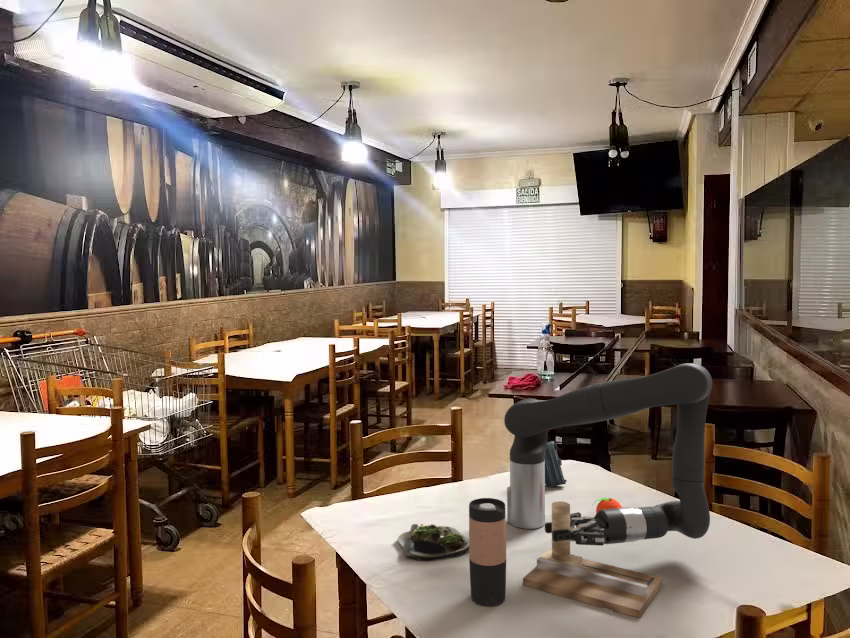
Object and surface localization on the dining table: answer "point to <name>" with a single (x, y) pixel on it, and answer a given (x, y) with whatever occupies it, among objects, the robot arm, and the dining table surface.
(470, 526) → the travel mug
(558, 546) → the post
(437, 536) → the salad plate
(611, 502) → the clementine
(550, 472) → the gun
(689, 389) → the robot arm
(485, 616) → the dining table surface
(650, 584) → the board
